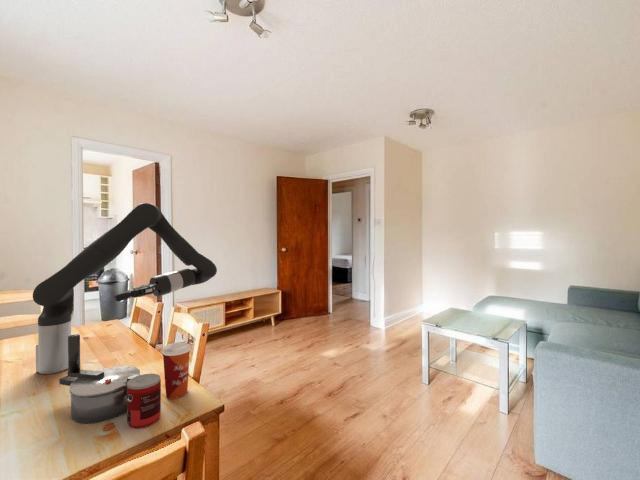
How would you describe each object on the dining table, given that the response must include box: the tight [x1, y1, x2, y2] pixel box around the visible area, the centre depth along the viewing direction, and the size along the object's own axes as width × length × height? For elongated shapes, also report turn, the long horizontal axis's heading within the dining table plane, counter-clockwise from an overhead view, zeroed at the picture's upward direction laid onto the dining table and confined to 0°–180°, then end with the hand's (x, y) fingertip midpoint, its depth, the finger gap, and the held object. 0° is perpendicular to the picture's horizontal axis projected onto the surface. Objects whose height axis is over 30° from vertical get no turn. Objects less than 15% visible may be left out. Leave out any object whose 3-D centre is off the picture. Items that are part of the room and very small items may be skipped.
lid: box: [66, 333, 141, 397], centre depth 88 cm, size 23×17×13 cm
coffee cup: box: [161, 341, 192, 399], centre depth 96 cm, size 8×8×15 cm
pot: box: [58, 375, 127, 425], centre depth 89 cm, size 28×16×7 cm, turn 76°
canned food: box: [126, 373, 162, 429], centre depth 82 cm, size 8×8×11 cm
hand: (115, 298), depth 101 cm, fingers closed
